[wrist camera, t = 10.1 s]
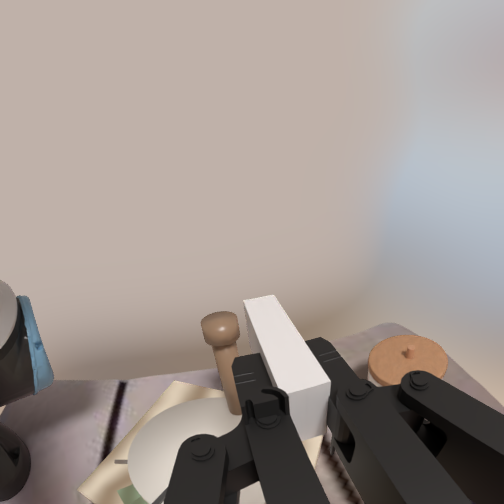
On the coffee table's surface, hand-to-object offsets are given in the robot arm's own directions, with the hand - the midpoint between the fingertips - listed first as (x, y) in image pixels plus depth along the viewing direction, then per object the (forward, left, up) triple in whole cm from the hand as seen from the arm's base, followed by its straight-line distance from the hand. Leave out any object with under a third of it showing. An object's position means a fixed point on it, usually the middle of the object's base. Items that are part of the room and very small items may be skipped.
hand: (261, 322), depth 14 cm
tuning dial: (-10, +3, -22) cm, 24 cm away
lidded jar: (+12, +17, -24) cm, 31 cm away
